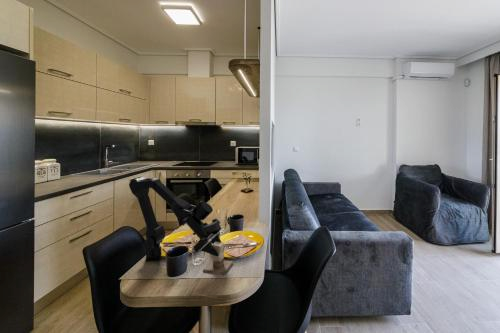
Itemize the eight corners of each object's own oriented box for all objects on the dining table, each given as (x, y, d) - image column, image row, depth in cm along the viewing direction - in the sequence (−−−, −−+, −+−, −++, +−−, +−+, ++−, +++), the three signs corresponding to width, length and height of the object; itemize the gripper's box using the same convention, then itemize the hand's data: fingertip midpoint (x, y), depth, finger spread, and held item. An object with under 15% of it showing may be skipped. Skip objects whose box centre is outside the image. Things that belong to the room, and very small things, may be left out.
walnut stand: (203, 271, 116) (202, 262, 116) (212, 260, 126) (212, 252, 125) (224, 274, 114) (224, 265, 113) (232, 263, 123) (232, 255, 123)
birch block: (212, 260, 118) (211, 245, 117) (215, 256, 122) (215, 241, 121) (220, 261, 117) (220, 246, 116) (224, 257, 121) (223, 242, 120)
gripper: (199, 222, 109) (225, 251, 107) (217, 208, 126) (239, 233, 125) (182, 238, 112) (207, 267, 110) (202, 223, 130) (224, 247, 128)
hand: (220, 252), depth 118 cm, fingers open, 6 cm apart
